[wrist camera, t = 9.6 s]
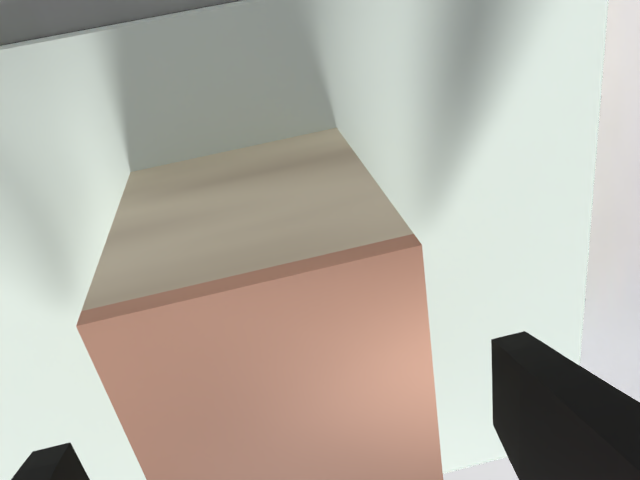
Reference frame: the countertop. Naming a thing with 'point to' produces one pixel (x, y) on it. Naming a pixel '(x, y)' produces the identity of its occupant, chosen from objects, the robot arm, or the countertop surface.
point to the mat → (290, 121)
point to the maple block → (266, 320)
